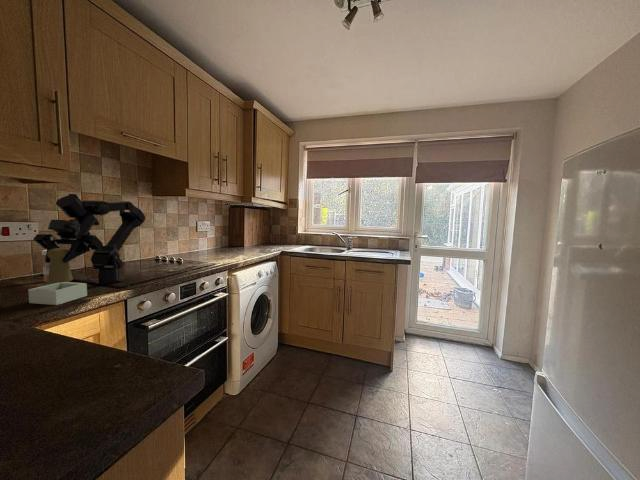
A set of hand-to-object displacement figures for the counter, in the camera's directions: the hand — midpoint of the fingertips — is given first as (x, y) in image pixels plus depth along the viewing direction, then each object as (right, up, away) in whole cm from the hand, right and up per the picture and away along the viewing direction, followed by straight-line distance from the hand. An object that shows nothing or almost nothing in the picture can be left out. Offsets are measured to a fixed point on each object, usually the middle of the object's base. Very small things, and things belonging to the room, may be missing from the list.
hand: (55, 262), depth 87 cm
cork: (0, -7, +2) cm, 7 cm away
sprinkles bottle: (-26, -10, +25) cm, 38 cm away
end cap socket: (-2, -13, +3) cm, 13 cm away
